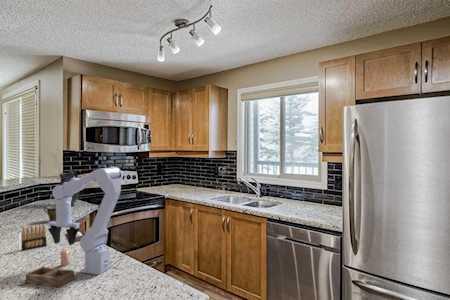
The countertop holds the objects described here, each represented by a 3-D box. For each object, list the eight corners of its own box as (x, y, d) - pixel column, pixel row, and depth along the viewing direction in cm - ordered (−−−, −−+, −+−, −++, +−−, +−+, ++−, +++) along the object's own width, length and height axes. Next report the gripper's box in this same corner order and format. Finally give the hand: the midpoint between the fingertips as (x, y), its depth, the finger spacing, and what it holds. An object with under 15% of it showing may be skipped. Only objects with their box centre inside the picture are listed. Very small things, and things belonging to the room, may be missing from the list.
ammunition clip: (46, 245, 156) (45, 222, 155) (46, 246, 154) (46, 223, 154) (21, 250, 149) (20, 226, 149) (21, 251, 147) (21, 227, 147)
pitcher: (51, 207, 248) (50, 172, 247) (68, 203, 268) (68, 169, 268) (70, 208, 245) (69, 172, 244) (86, 203, 265) (85, 170, 265)
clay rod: (70, 264, 131) (70, 250, 131) (65, 266, 128) (64, 252, 128) (64, 263, 132) (64, 249, 131) (59, 266, 129) (59, 252, 129)
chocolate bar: (69, 242, 159) (65, 233, 174) (69, 243, 159) (65, 235, 174) (88, 238, 164) (82, 231, 179) (88, 240, 164) (82, 232, 179)
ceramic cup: (66, 219, 208) (66, 205, 208) (57, 223, 198) (57, 208, 198) (49, 219, 210) (49, 205, 210) (39, 223, 200) (39, 208, 200)
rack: (75, 277, 117) (75, 270, 117) (59, 287, 109) (59, 279, 109) (42, 273, 121) (42, 266, 121) (24, 282, 113) (24, 274, 113)
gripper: (84, 211, 131) (84, 241, 132) (57, 209, 135) (58, 239, 135) (72, 215, 124) (73, 247, 125) (44, 213, 128) (44, 244, 128)
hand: (64, 243), depth 130 cm, fingers open, 7 cm apart
